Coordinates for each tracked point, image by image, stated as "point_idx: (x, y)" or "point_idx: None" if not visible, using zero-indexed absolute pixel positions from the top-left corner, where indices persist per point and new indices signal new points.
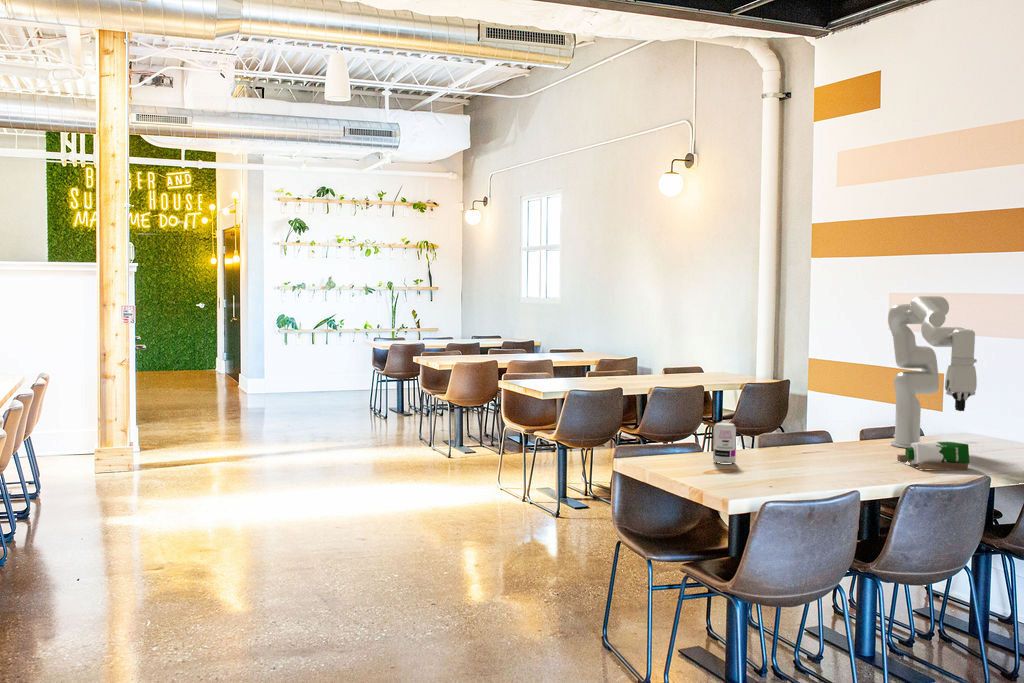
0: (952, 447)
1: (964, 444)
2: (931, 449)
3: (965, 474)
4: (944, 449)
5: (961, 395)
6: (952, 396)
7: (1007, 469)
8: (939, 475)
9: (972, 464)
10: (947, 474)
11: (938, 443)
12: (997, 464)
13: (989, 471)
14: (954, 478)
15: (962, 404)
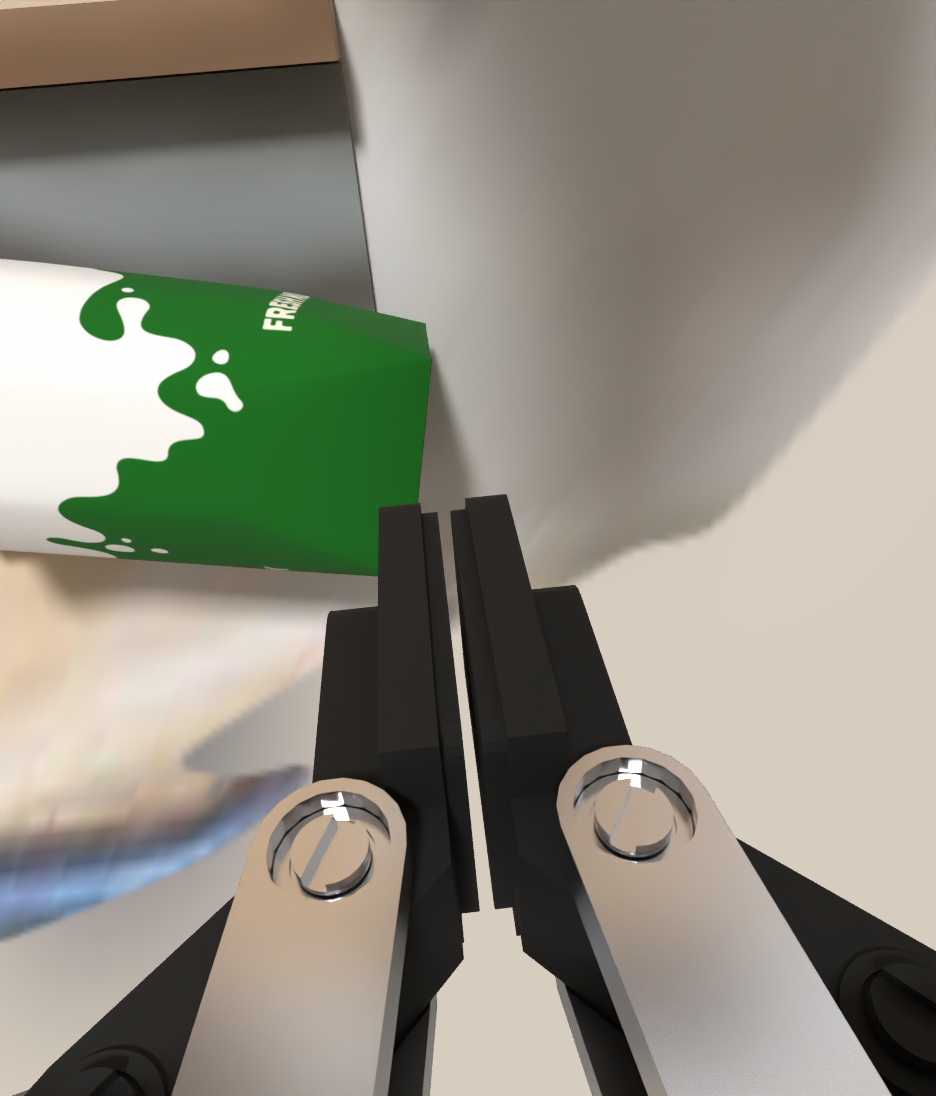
0: (235, 563)
1: (369, 572)
2: (6, 549)
3: (308, 609)
4: (149, 560)
5: (623, 978)
6: (129, 1002)
7: (744, 424)
8: (102, 651)
9: (573, 214)
10: (171, 619)
11: (78, 524)
12: (825, 203)
13: (547, 504)
14: (185, 715)
15: (482, 809)
